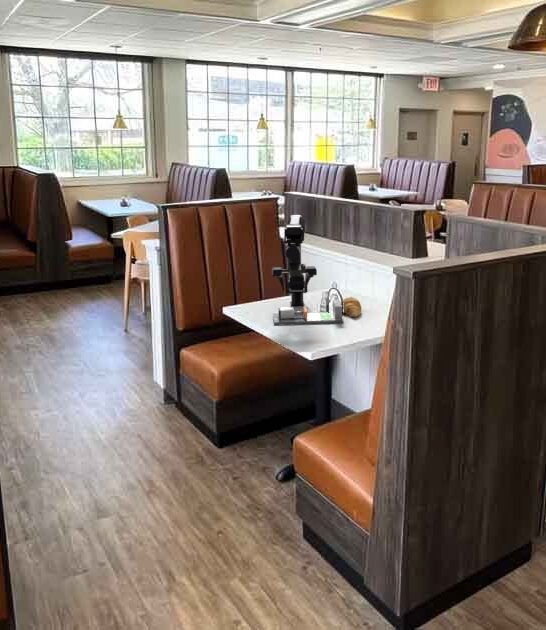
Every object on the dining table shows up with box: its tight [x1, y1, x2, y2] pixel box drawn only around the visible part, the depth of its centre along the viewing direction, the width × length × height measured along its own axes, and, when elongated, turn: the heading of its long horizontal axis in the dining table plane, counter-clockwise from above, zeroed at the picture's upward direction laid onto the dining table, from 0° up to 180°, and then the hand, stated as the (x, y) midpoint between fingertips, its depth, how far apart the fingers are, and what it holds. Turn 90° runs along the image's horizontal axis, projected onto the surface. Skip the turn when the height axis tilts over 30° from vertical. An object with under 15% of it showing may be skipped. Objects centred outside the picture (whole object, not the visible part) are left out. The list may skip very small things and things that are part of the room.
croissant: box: [342, 296, 362, 318], centre depth 287 cm, size 21×10×8 cm, turn 7°
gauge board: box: [272, 299, 345, 326], centre depth 276 cm, size 13×30×7 cm, turn 92°
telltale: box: [302, 306, 308, 318], centre depth 276 cm, size 7×1×3 cm, turn 2°
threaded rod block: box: [278, 306, 304, 318], centre depth 276 cm, size 4×11×4 cm, turn 92°
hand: (294, 290), depth 270 cm, fingers open, 9 cm apart
